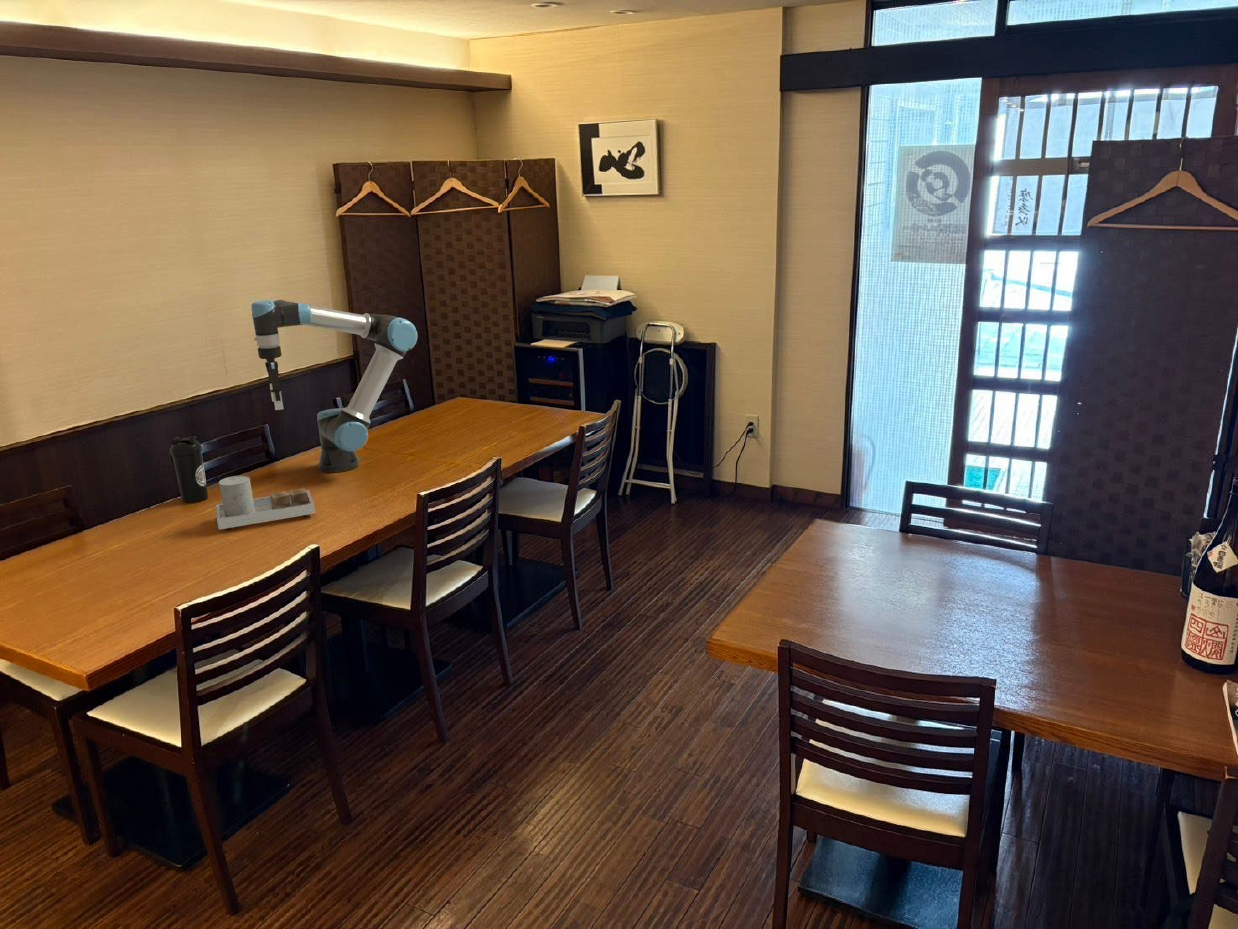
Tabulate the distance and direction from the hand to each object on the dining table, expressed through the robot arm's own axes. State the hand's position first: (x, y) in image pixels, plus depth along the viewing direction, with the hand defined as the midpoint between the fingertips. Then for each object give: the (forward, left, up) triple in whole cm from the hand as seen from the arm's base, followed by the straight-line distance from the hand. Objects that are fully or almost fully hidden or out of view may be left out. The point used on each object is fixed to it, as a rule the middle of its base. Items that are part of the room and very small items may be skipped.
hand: (277, 405), depth 320 cm
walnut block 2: (-1, +27, -29) cm, 40 cm away
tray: (+10, +27, -32) cm, 43 cm away
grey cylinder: (+18, +27, -29) cm, 44 cm away
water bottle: (+32, -5, -32) cm, 45 cm away
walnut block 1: (+5, +27, -29) cm, 40 cm away
